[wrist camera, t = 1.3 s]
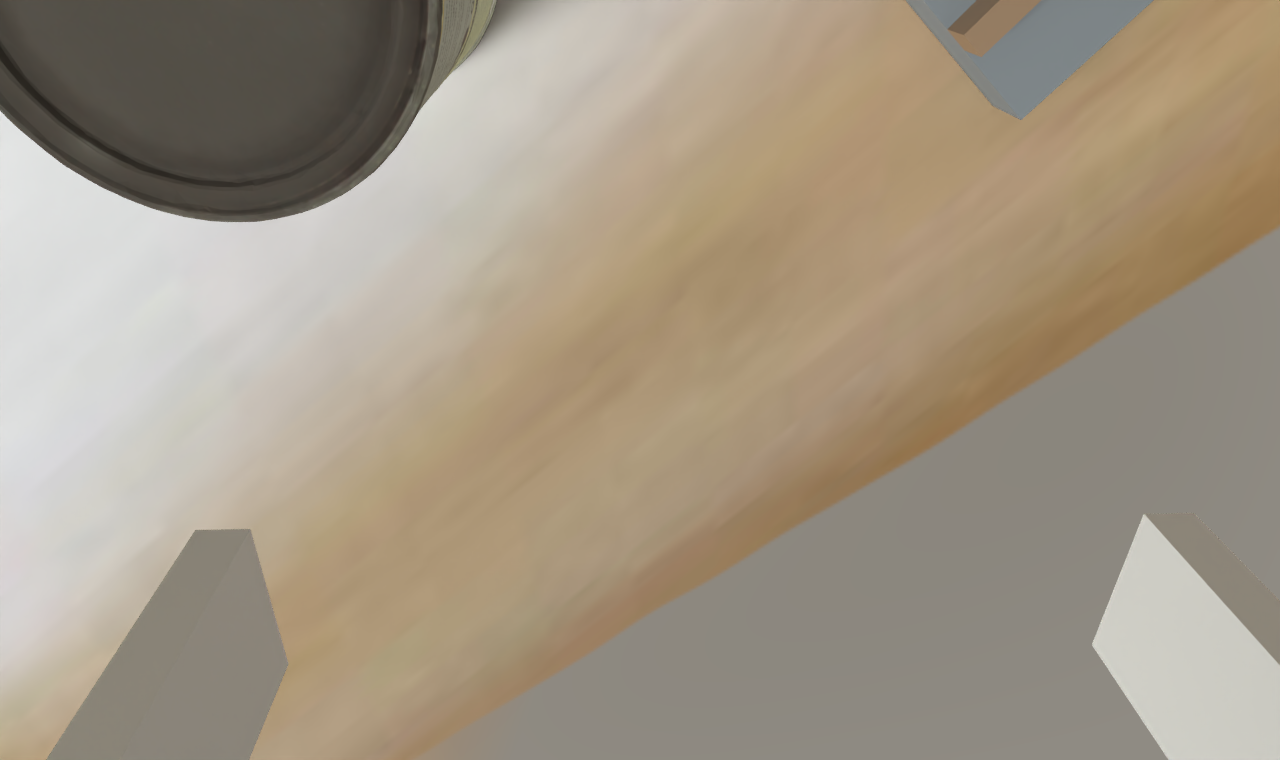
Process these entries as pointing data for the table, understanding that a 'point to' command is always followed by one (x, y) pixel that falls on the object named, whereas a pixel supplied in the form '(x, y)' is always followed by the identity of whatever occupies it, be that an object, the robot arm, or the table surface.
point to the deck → (1023, 41)
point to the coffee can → (228, 93)
